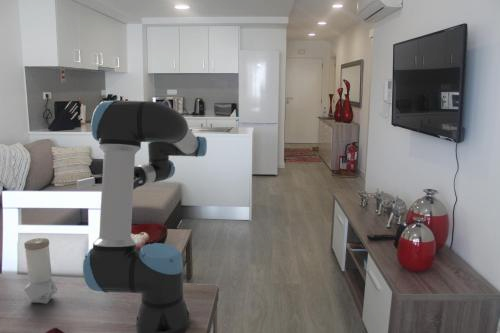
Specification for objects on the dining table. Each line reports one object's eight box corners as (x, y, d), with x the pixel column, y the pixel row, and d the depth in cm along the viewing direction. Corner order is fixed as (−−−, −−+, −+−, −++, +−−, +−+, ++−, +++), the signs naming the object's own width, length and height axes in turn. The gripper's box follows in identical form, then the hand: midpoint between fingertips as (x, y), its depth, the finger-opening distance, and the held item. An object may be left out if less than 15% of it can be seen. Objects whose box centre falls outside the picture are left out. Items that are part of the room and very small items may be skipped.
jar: (56, 277, 132) (53, 241, 130) (35, 285, 127) (31, 248, 124) (44, 271, 136) (41, 236, 133) (23, 279, 130) (19, 243, 128)
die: (33, 313, 127) (52, 286, 128) (13, 295, 129) (32, 269, 129) (49, 308, 135) (67, 283, 136) (30, 292, 137) (48, 267, 137)
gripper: (165, 191, 148) (116, 205, 131) (117, 180, 162) (68, 192, 144) (164, 170, 147) (115, 182, 129) (116, 161, 160) (66, 171, 142)
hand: (90, 188), depth 137 cm, fingers open, 13 cm apart
